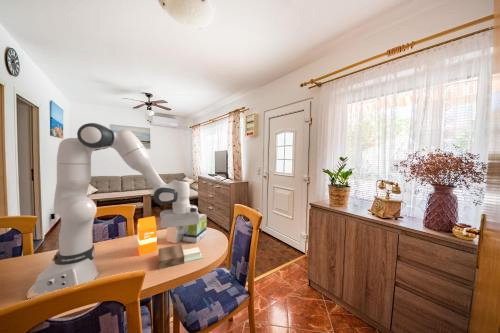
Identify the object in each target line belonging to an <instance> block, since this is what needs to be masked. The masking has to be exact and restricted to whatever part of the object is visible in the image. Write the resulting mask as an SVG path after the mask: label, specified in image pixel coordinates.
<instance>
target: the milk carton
mask: <svg viewBox="0 0 500 333" xmlns="http://www.w3.org/2000/svg"><path fill="white" fill-rule="evenodd" d="M178 229H179V230H182V229H183V226H179V228H178ZM183 236H184V235H183V234H178V231H177V229H176V227H168V228H166V242H167V243H172V244H177V243H179V242H180V241H183Z"/></svg>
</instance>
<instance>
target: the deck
mask: <svg viewBox="0 0 500 333" xmlns="http://www.w3.org/2000/svg"><path fill="white" fill-rule="evenodd" d="M183 250H184V249H183V246H182V244H177V245H171V246H166V247H160V248H158V269H159V270H163V269H166V268H171V267H175V266H180V265H183V264H185V262H184V253H183Z"/></svg>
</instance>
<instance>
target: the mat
mask: <svg viewBox="0 0 500 333" xmlns="http://www.w3.org/2000/svg"><path fill="white" fill-rule="evenodd" d="M200 259H201V260H202V259H204V257H203V254H202V252H201V251H200V255H199V256H194V257H190V258H185V259H184V263H187V262H192V261H196V260H200Z"/></svg>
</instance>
